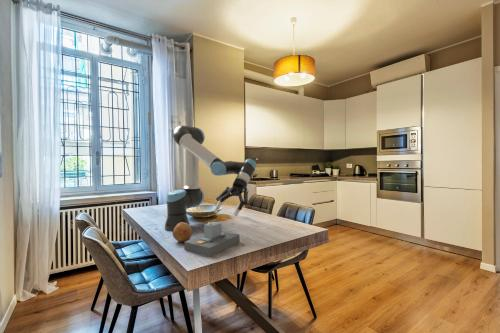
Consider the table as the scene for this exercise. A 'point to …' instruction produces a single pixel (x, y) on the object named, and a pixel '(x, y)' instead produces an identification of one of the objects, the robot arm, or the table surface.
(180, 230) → the onion
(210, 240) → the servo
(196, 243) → the pocket block
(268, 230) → the table surface
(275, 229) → the table surface
